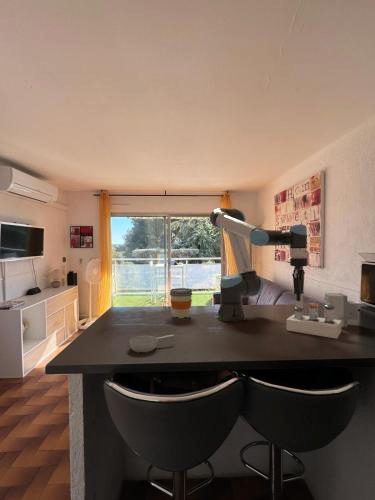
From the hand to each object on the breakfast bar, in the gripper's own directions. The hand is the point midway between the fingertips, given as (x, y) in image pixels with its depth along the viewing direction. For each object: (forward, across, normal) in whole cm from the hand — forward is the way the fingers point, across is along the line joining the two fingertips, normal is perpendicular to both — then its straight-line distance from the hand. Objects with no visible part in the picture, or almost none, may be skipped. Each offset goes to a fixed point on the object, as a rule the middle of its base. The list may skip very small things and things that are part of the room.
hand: (299, 307), depth 132 cm
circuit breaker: (+10, +18, -16) cm, 26 cm away
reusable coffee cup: (+10, -12, +61) cm, 63 cm away
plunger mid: (+7, 0, -6) cm, 9 cm away
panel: (+10, 0, -6) cm, 12 cm away
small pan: (+10, -57, +41) cm, 71 cm away
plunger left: (+9, 0, 0) cm, 9 cm away
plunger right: (+7, 0, -13) cm, 14 cm away
